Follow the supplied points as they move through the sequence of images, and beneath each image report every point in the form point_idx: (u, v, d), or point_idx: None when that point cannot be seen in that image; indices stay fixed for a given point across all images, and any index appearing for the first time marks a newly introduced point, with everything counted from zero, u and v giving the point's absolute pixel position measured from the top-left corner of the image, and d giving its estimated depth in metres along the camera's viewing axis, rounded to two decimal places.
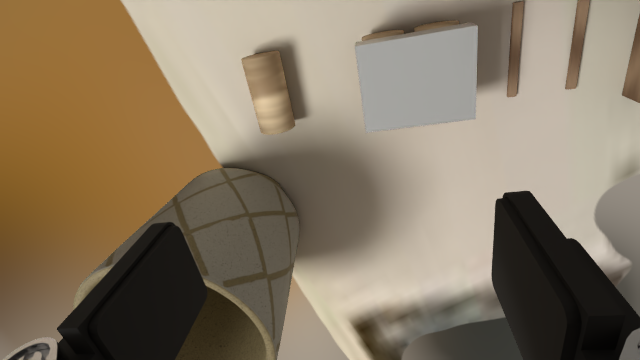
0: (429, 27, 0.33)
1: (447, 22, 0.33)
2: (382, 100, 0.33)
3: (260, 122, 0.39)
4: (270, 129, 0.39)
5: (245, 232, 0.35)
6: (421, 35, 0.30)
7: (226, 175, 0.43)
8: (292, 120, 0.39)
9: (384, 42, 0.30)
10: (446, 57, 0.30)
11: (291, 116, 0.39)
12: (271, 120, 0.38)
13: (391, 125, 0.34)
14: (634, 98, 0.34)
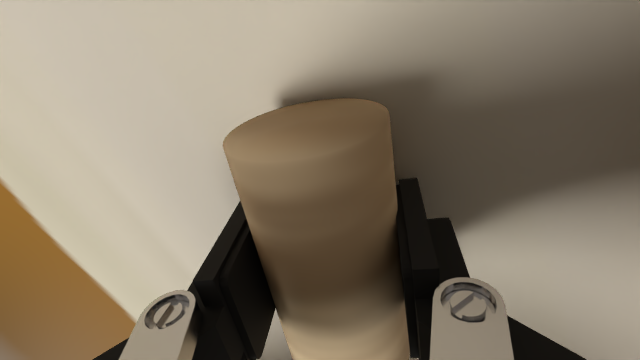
0: None
1: None
2: None
3: (297, 358, 0.11)
4: None
5: None
6: None
7: None
8: None
9: None
10: None
11: None
12: None
13: None
14: None
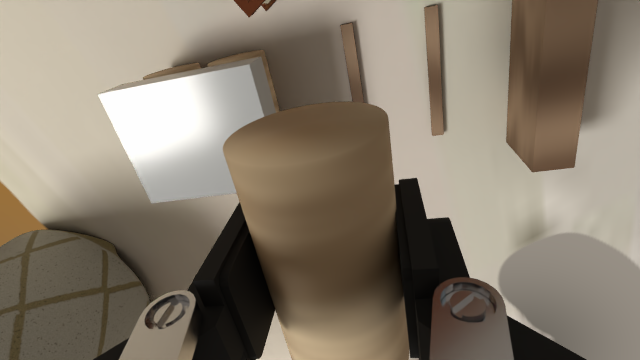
0: (220, 62, 0.24)
1: (251, 53, 0.25)
2: (157, 163, 0.24)
3: None
4: None
5: None
6: (179, 78, 0.21)
7: (31, 243, 0.34)
8: (407, 338, 0.11)
9: (133, 88, 0.21)
10: (220, 107, 0.21)
11: (406, 329, 0.11)
12: None
13: (180, 194, 0.25)
14: (515, 150, 0.25)
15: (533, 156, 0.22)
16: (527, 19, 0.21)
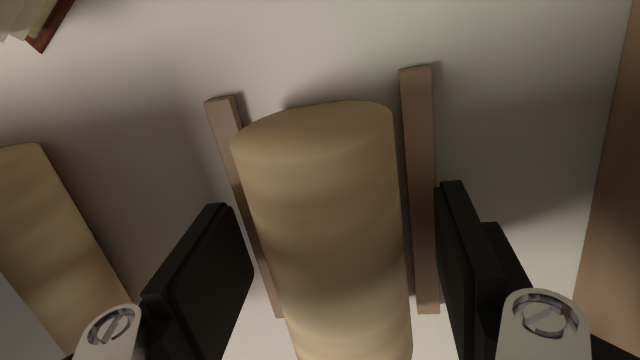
0: None
1: (0, 161, 0.11)
2: None
3: (305, 358, 0.11)
4: None
5: None
6: None
7: None
8: (411, 331, 0.11)
9: None
10: None
11: (410, 322, 0.11)
12: None
13: None
14: None
15: None
16: None
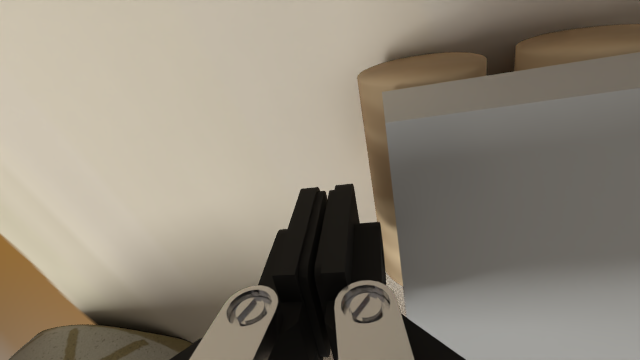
0: (582, 48, 0.10)
1: (627, 30, 0.11)
2: (476, 291, 0.09)
3: None
4: None
5: None
6: None
7: (71, 359, 0.20)
8: None
9: (512, 109, 0.07)
10: None
11: None
12: None
13: (496, 353, 0.11)
14: None
15: None
16: None
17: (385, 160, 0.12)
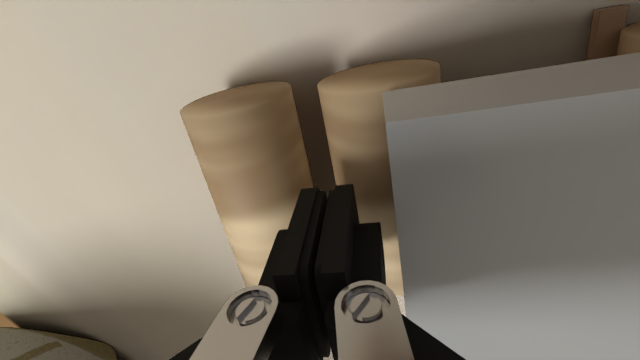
0: (352, 85, 0.11)
1: (408, 67, 0.12)
2: (476, 291, 0.09)
3: None
4: None
5: None
6: None
7: None
8: None
9: (512, 109, 0.07)
10: None
11: None
12: None
13: (495, 353, 0.11)
14: None
15: None
16: None
17: (208, 181, 0.13)
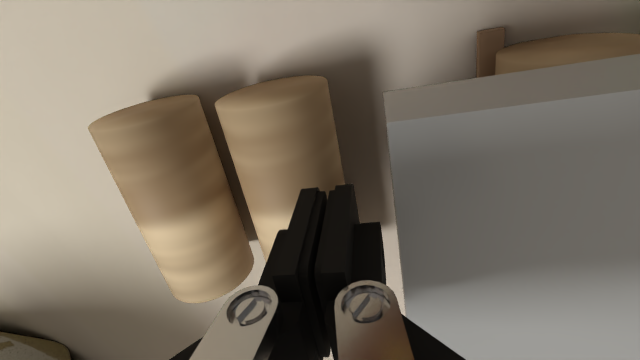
0: (242, 102, 0.12)
1: (302, 84, 0.12)
2: (475, 291, 0.09)
3: None
4: None
5: None
6: None
7: None
8: None
9: (514, 110, 0.07)
10: None
11: None
12: None
13: (495, 353, 0.11)
14: None
15: None
16: None
17: None
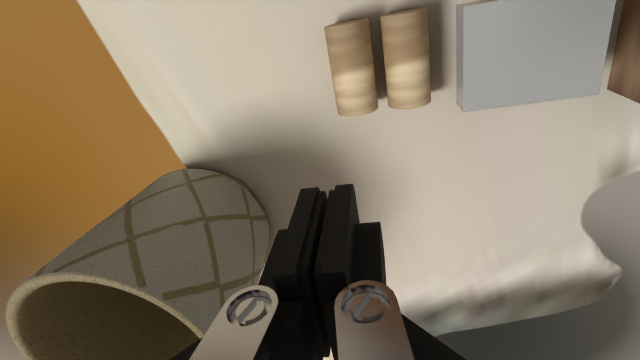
0: (395, 15, 0.30)
1: (415, 9, 0.31)
2: (488, 72, 0.28)
3: None
4: None
5: (198, 238, 0.32)
6: None
7: (187, 176, 0.40)
8: None
9: (500, 1, 0.25)
10: (574, 18, 0.25)
11: None
12: None
13: (495, 103, 0.29)
14: (620, 92, 0.32)
15: None
16: None
17: (334, 57, 0.32)
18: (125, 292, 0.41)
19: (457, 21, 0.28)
